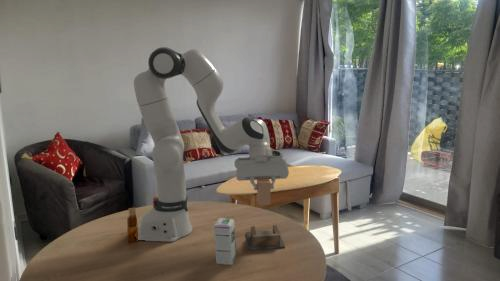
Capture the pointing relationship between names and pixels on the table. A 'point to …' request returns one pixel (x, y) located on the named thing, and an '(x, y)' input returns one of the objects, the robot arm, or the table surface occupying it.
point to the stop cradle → (264, 239)
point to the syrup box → (225, 241)
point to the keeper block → (264, 192)
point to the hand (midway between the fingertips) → (263, 189)
